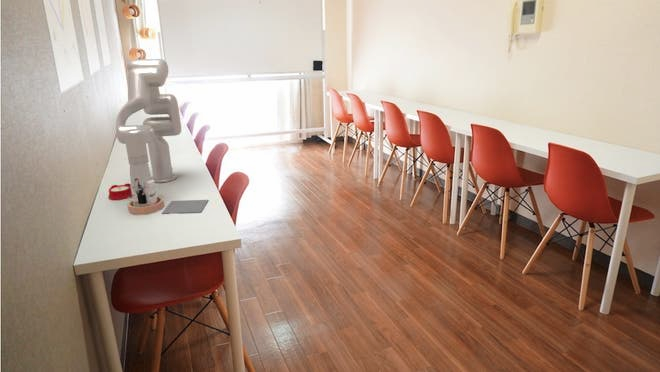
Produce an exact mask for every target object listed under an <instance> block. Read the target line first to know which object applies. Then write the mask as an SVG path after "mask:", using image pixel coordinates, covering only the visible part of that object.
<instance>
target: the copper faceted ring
mask: <svg viewBox="0 0 660 372" xmlns="http://www.w3.org/2000/svg"><path fill="white" fill-rule="evenodd" d="M157 202H158V203H157V204H154V205H151V206H146V207H134V204H133V199H131V200H130V201H129V202H128V203H127V208H128V211H129V214H131V215H136V216H137V215H148V214H154V213H157V212H159V211H161V210H162V209H163V208H164V207H165V203H164V202H165V201H164V198H162V197H161V196H157Z"/></svg>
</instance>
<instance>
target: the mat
mask: <svg viewBox="0 0 660 372" xmlns="http://www.w3.org/2000/svg"><path fill="white" fill-rule="evenodd" d="M208 202H209V199H189V200H188V199H187V200H171V201H170V202H169V204H168V205H167V206H166V207H165V208H164V210H163V211H162V212H161V215H171V214H170V213H178V214H198V213H199V214H201V213H202V212H203V210H204V209H205V207H206V206H207V204H208Z"/></svg>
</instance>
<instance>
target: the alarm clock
mask: <svg viewBox="0 0 660 372" xmlns="http://www.w3.org/2000/svg"><path fill="white" fill-rule="evenodd" d="M130 184H131V183H125V184H121V185H119V184H118V185H117V184H113V185H111V186H110V188H109V189H108V199H109V200H111V201H122V200H126V199H129V198H132V192H131V186H130Z"/></svg>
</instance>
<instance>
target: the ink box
mask: <svg viewBox="0 0 660 372" xmlns="http://www.w3.org/2000/svg"><path fill="white" fill-rule="evenodd" d="M129 184H130V186H131V183H129ZM139 187H141V186H139ZM134 189H135V188H132V186H131V192H132V196H131V198H132V200H133V204H134V207H146V206H151V205H154V204H157V203H158V202H157V188H156V183H155V182H154V180H149V181H148V182H146V186H145V187H144V194H146V200H147V203H146V204H139V203H138V197H137V193H136V192H135V191H134ZM140 190H141V191H142V189H140Z"/></svg>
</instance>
